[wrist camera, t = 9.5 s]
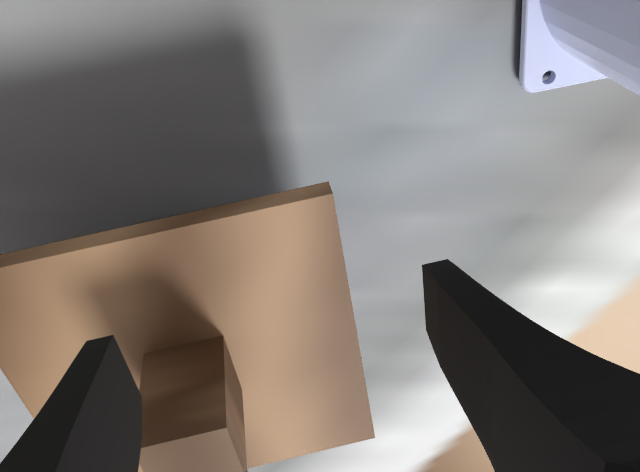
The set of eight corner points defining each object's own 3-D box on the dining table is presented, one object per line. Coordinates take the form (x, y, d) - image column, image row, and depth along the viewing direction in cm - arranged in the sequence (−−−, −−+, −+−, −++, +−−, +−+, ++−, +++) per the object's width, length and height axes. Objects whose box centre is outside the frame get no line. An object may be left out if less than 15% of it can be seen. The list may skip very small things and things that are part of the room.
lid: (328, 181, 19) (360, 269, 15) (370, 422, 26) (400, 527, 22) (-49, 265, 19) (-118, 378, 15) (94, 488, 25) (73, 608, 21)
